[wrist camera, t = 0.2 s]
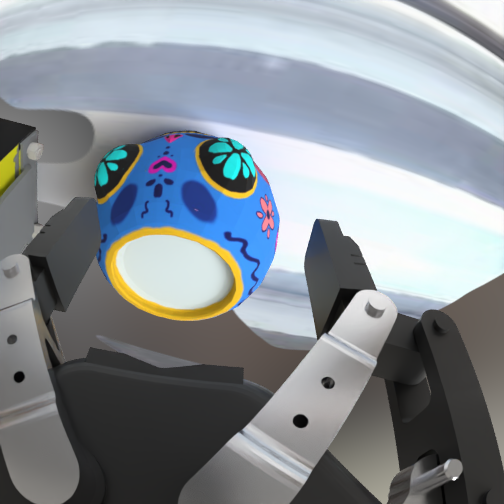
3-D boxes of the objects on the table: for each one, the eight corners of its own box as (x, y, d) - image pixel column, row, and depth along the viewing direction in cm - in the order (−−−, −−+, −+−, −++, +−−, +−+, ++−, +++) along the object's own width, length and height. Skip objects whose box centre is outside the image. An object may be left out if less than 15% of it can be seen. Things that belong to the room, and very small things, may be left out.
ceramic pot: (277, 103, 29) (291, 184, 18) (273, 236, 41) (277, 339, 31) (110, 115, 29) (37, 197, 18) (143, 238, 42) (112, 333, 31)
